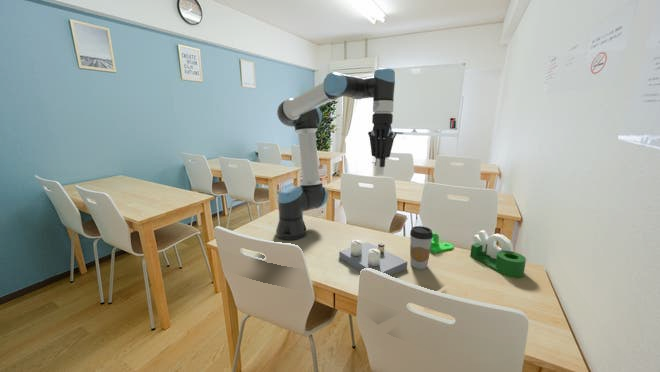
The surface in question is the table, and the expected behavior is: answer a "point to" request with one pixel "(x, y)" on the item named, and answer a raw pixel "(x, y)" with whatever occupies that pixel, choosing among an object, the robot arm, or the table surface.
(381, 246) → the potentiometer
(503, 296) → the table surface
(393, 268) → the plate
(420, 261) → the coffee cup
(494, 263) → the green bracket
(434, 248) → the mechanical part
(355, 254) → the knob
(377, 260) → the knob
